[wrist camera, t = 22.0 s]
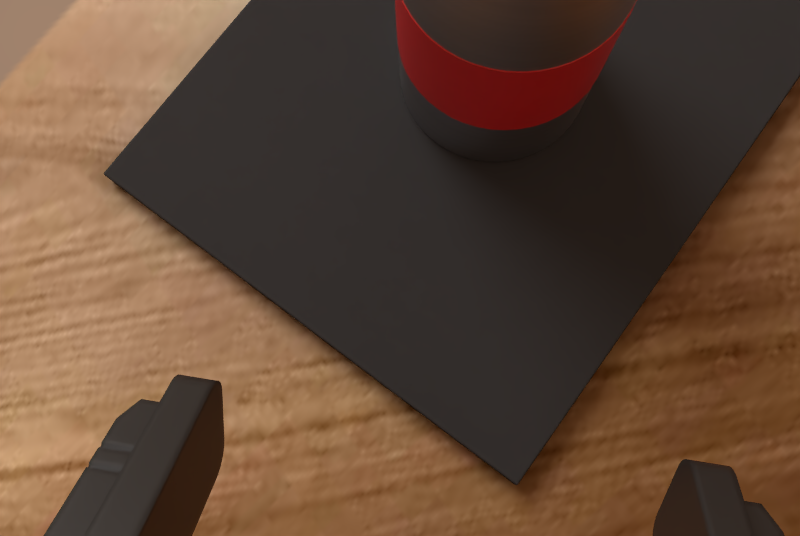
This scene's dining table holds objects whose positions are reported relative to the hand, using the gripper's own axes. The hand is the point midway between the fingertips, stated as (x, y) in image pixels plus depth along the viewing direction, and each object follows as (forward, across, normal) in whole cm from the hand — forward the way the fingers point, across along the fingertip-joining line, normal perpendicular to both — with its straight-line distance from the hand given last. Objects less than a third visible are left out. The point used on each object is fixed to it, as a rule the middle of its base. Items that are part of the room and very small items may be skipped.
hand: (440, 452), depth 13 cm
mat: (+15, 0, -1) cm, 15 cm away
